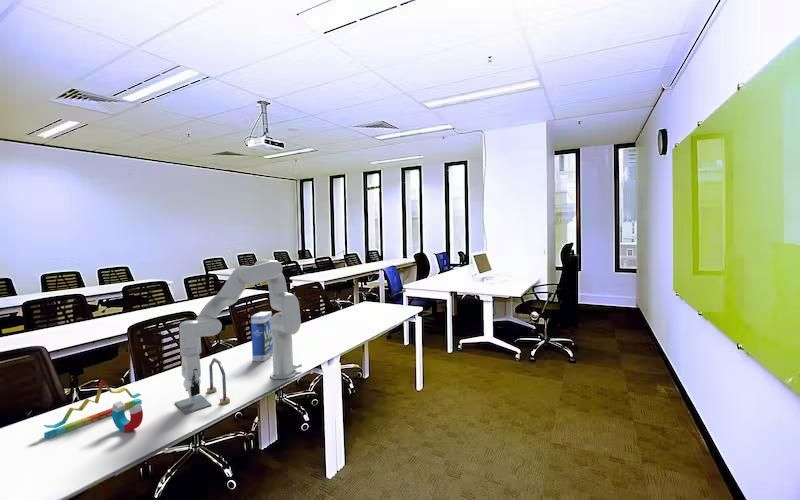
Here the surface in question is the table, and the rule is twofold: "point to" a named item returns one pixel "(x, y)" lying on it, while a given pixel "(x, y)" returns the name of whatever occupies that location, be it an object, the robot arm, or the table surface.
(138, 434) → the table surface
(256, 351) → the string lights box
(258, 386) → the table surface
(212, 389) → the wire arch
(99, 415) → the chart
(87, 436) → the table surface
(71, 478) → the table surface
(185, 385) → the lightbulb
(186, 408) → the mat
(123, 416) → the magnet
